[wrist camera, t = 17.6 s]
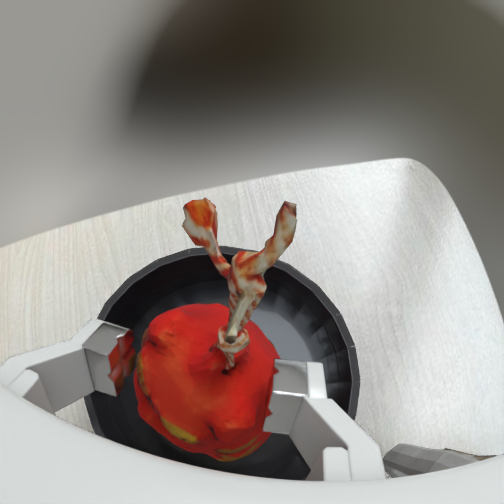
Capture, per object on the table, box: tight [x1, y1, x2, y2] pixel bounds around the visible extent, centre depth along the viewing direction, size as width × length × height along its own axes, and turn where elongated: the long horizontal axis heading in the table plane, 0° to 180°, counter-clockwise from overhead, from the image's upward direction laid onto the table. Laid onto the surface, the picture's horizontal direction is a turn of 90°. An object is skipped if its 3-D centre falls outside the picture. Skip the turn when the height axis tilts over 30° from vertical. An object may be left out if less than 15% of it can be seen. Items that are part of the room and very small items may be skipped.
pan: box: [84, 246, 360, 481], centre depth 16 cm, size 15×15×5 cm
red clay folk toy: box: [133, 197, 297, 462], centre depth 10 cm, size 8×7×15 cm
